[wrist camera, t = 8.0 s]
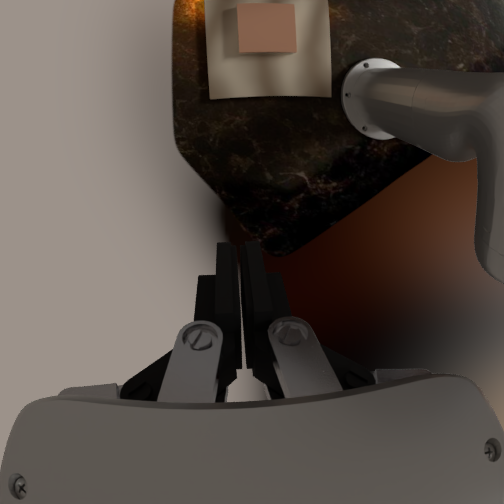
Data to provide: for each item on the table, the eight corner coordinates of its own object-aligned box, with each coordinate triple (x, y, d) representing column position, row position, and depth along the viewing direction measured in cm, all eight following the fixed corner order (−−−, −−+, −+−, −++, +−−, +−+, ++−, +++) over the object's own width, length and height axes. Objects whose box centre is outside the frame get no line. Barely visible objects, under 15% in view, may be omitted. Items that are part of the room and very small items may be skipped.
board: (324, 1, 27) (327, -1, 26) (328, 96, 35) (331, 97, 34) (205, -1, 26) (204, -3, 25) (210, 99, 34) (210, 99, 33)
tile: (236, 7, 26) (291, 7, 27) (238, 54, 30) (293, 53, 30) (236, 3, 25) (294, 4, 25) (239, 52, 29) (296, 52, 29)
